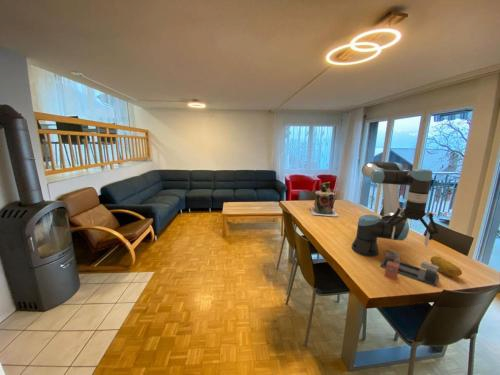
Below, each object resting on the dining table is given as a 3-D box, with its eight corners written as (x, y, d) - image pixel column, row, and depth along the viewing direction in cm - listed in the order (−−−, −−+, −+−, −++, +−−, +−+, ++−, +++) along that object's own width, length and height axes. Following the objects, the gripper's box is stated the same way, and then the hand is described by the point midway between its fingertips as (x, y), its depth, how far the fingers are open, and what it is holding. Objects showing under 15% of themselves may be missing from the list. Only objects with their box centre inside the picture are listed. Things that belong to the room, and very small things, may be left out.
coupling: (394, 281, 104) (397, 269, 102) (383, 277, 107) (385, 265, 106) (397, 275, 109) (399, 263, 108) (386, 271, 113) (389, 259, 111)
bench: (380, 266, 117) (382, 253, 115) (385, 258, 125) (387, 246, 123) (436, 287, 100) (440, 272, 99) (438, 276, 109) (441, 262, 107)
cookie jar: (309, 208, 223) (311, 179, 216) (332, 209, 220) (336, 180, 213) (312, 215, 199) (315, 183, 192) (339, 217, 196) (343, 184, 189)
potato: (450, 281, 105) (453, 268, 104) (425, 265, 119) (428, 253, 118) (463, 281, 106) (466, 268, 104) (437, 265, 120) (440, 253, 118)
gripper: (385, 198, 104) (379, 237, 108) (453, 207, 90) (442, 251, 95) (386, 195, 110) (380, 232, 114) (449, 203, 96) (439, 245, 101)
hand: (408, 241), depth 105 cm, fingers open, 13 cm apart
